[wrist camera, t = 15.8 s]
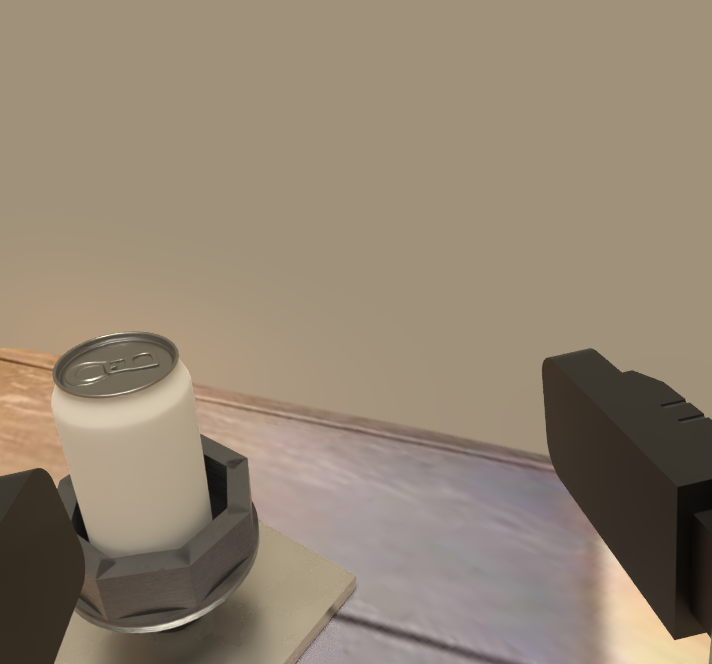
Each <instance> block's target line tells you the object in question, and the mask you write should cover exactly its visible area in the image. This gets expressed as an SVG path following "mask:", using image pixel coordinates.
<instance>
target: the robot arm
mask: <svg viewBox="0 0 712 664" xmlns="http://www.w3.org/2000/svg"><path fill="white" fill-rule="evenodd" d="M542 379H543V393H544V406H545V419H546V433H547V443H548V448H549V454H550V457H551V460H552V463H553V466H554V469H555V471H556V473H557V475H558V477H559V478H560V480H561V481H562V483H563V484H564V486H565V487H566V488H567V490H568V491H569V493H570V494H571V495H572V497H573V498H574V500H575V501H576V502H577V504H578V505H579V507H580V508H581V510H582V511H583V512H584V514H585V515H586V517H587V518H588V519H589V521H590V522H591V524H592V525H593V526H594V528H595V529H596V531H597V532H598V533H599V535H600V536H601V538H602V539H603V540H604V542H605V543H606V545H607V546H608V547H609V549H610V550H611V552H612V553H613V554H614V556H615V557H616V559H617V560H618V561H619V563H620V564H621V566H622V567H623V568H624V570H625V571H626V573H627V574H628V575H629V577H630V578H631V580H632V581H633V582H634V584H635V585H636V587H637V588H638V590H639V591H640V592H641V594H642V595H643V597H644V598H645V599H646V601H647V602H648V604H649V605H650V606H651V608H652V609H653V611H654V612H655V613H656V615H657V616H658V618H659V619H660V620H661V622H662V623H663V625H664V626H665V627H666V629H667V630H668V632H669V633H670V634H671V636H672V637H673V639H674V640H677V639H681V638H685V637H690V636H694V635H698V634H702V633H706V632H707V634H708V635H709V636H710V638H711V646H710V657H709V664H712V420H711V419H710V418H705V417H704V414H703V413H702V412H701V411H700V410H698V409H697V408H696V407H695V406H693V405H692V404H691V403H686V401H685V399H684V398H683V397H682V396H681V395H679V394H678V393H677V392H675V391H674V390H673V389H672V388H670V387H669V386H668V385H666V384H665V383H664V382H662V381H659V380H656V379H654V378H651V377H648V376H646V375H643V374H640V373H638V372H635V371H627V372H623V373H622V372H620V371H619V370H618V369H617V368H616V367H615V366H613V365H612V364H611V363H610V362H609V361H608V360H606V359H605V358H604V357H603V356H602V355H600V354H599V353H598V352H597V351H596V350H594V349H586V350H581V351H576V352H572V353H567V354H562V355H558V356H553V357H549V358H546V359H545V360H544V362H543V366H542ZM84 579H85V558H84V553H83V549H82V546H81V543H80V541H79V538H78V536H77V534H76V532H75V529H74V527H73V525H72V522H71V520H70V518H69V516H68V513H67V511H66V509H65V507H64V504H63V502H62V500H61V497H60V495H59V493H58V491H57V488H56V486H55V484H54V482H53V480H52V478H51V476H50V475H49V473H48V472H47V471H45V470H44V469H42V468H36V469H32V470H27V471H23V472H18V473H14V474H9V475H5V476H0V664H54V662H55V660H56V657H57V654H58V652H59V649H60V646H61V644H62V641H63V638H64V636H65V633H66V630H67V628H68V625H69V622H70V620H71V617H72V614H73V612H74V609H75V606H76V604H77V601H78V598H79V596H80V593H81V590H82V588H83V584H84Z"/></svg>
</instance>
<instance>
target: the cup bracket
mask: <svg viewBox="0 0 712 664" xmlns="http://www.w3.org/2000/svg"><path fill="white" fill-rule="evenodd" d="M200 437H201V444H202V450H203V457H204V464H205V471H206V477H207V484H208V491H209V498H210V505H211V512H212V522H211V523H209V524H208V525H207V526H206V527H205V528H204V529H202V530H201V531H200V532H199V533H198V534H197V535H195V536H194V537H193V538H192V539H191V540H190V541H188V542H187V543H186V544H185V545H184V546H183V547H181V548H180V549H173V550H166V551H159V552H151V553H144V554H137V555H130V556H123V557H116V558H110V557H108V556H107V555H105V554H104V553H103V552H101V551H100V550H98V549H97V548H96V547H94V546H93V545H91V544H90V541H89V538H88V534H87V531H86V528H85V524H84V521H83V518H82V514H81V511H80V507H79V504H78V501H77V497H76V494H75V490H74V487H73V483H72V480H71V477H70V474H69V475H68V476H66V477H65V478H63V479H61V480H60V482H59V485H58V489H57V491H58V493H59V495H60V497H61V500H62V502H63V504H64V507H65V509H66V511H67V513H68V516H69V518H70V520H71V522H72V525H73V527H74V529H75V532H76V534H77V536H78V538H79V541H80V543H81V546H82V549H83V553H84V558H85V579H84V584H83V588H82V590H81V593H80V596H79V598H78V601H77V604H76V606H75V609H74V612H73V614H72V617H71V620H70V622H69V625H68V628H67V630H66V633H65V636H64V638H63V641H62V644H61V646H60V649H59V652H58V654H57V657H56V660H55V662H54V664H295V663H296V662H297V660H298V659H299V658H300V657H301V655H302V654H303V653H304V652H305V650H306V649H307V648H308V647H309V645H310V644H311V643H312V642H313V641H314V639H315V638H316V637H317V636H318V634H319V633H320V632H321V631H322V629H323V628H324V627H325V626H326V624H327V623H328V622H329V621H330V619H331V618H332V617H333V616H334V615H335V613H336V612H337V611H338V610H339V608H340V607H341V606H342V605H343V603H344V602H345V601H346V600H347V598H348V597H349V596H350V595H351V594H352V592H353V591H354V590H355V589H356V576H355V575H353V574H352V573H350V572H348V571H346V570H345V569H343V568H341V567H339V566H338V565H336V564H334V563H332V562H331V561H329V560H327V559H325V558H324V557H322V556H320V555H318V554H317V553H315V552H313V551H311V550H310V549H308V548H306V547H304V546H303V545H301V544H299V543H297V542H296V541H294V540H292V539H290V538H289V537H287V536H285V535H283V534H282V533H280V532H278V531H276V530H275V529H273V528H271V527H269V526H268V525H266V524H264V523H262V522H261V521H259V520H258V517H257V512H256V509H255V506H254V504H253V502H252V498H251V487H250V478H249V468H248V459H247V458H246V457H244V456H242V455H240V454H239V453H237V452H235V451H233V450H231V449H229V448H227V447H225V446H223V445H221V444H219V443H217V442H215V441H213V440H211V439H209V438H207V437H205V436H203V435H202V434H200Z"/></svg>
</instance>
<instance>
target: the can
mask: <svg viewBox="0 0 712 664" xmlns="http://www.w3.org/2000/svg"><path fill="white" fill-rule="evenodd" d="M53 380H54V382H55V387H54V390H53V394H52V400H51V406H52V412H53V416H54V420H55V424H56V428H57V431H58V435H59V438H60V442H61V445H62V449H63V452H64V456H65V459H66V463H67V466H68V470H69V473H70V477H71V480H72V483H73V487H74V490H75V494H76V497H77V501H78V504H79V507H80V511H81V514H82V518H83V521H84V524H85V528H86V531H87V534H88V538H89V541H90V544H91V545H93V546H94V547H96V548H97V549H98V550H100V551H101V552H103V553H104V554H105V555H107V556H108V557H110V558H116V557H123V556H130V555H137V554H144V553H151V552H159V551H166V550H173V549H180V548H181V547H183V546H184V545H185V544H186V543H187V542H188V541H190V540H191V539H192V538H193V537H194V536H195V535H197V534H198V533H199V532H200V531H201V530H202V529H204V528H205V527H206V526H207V525H208V524H209V523H211V522H212V512H211V505H210V498H209V491H208V484H207V477H206V471H205V464H204V457H203V450H202V444H201V437H200V430H199V424H198V417H197V411H196V405H195V398H194V392H193V387H192V382H191V377H190V374H189V372H188V370H187V368H186V367H185V365H184V364H183V363H182V362H181V360H180V359H179V354H178V349H177V347H176V346H175V344H174V343H173V342H171V341H170V340H169V339H167V338H165V337H163V336H160V335H157V334H153V333H148V332H120V333H113V334H108V335H104V336H100V337H97V338H94V339H91V340H88V341H86V342H83V343H81V344H79V345H77V346H75V347H74V348H72V349H70V350H69V351H68V352H66V353H65V354H64V355H63V356H62V357H61V358H60V359H59V360H58V361H57V363H56V364H55V366H54V369H53Z"/></svg>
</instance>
